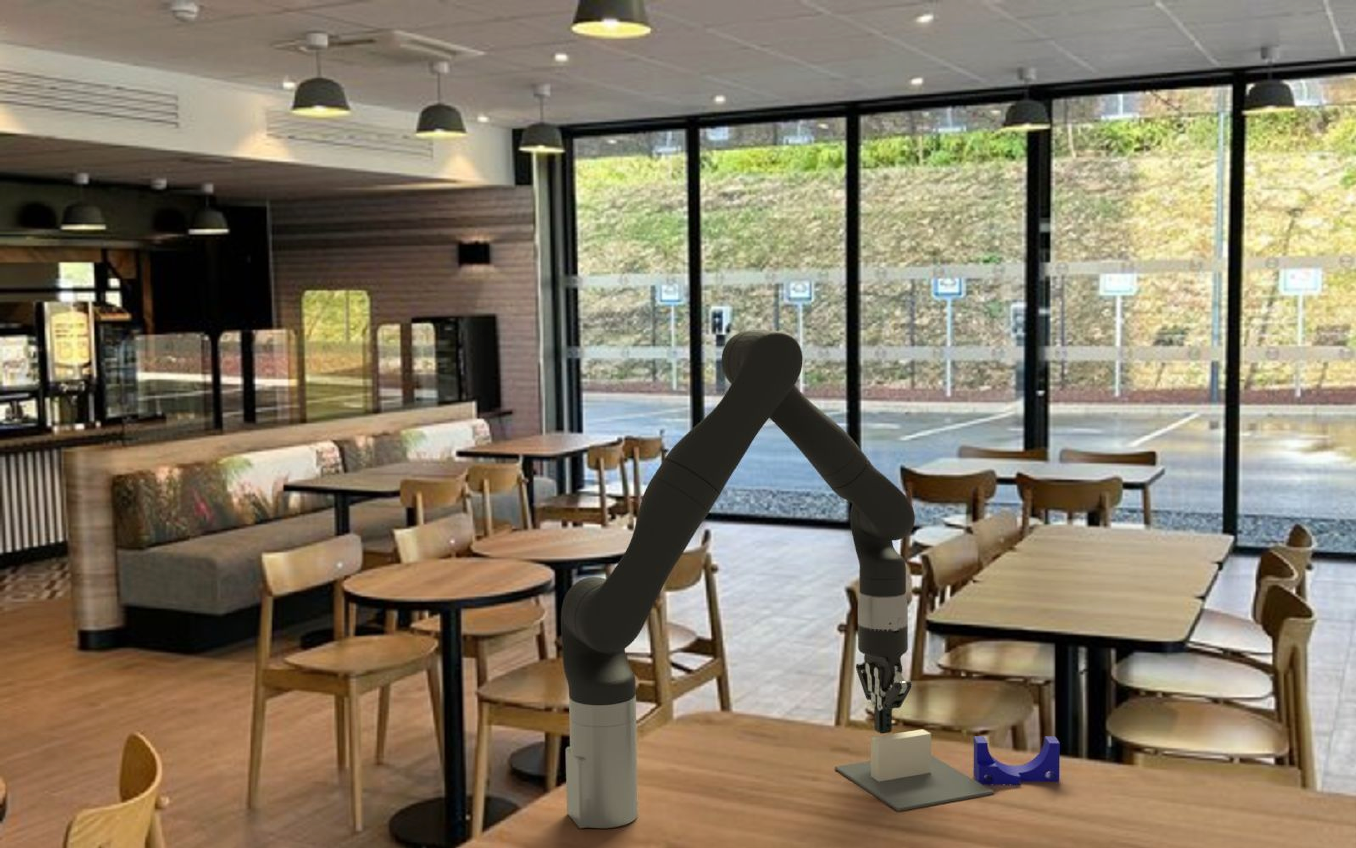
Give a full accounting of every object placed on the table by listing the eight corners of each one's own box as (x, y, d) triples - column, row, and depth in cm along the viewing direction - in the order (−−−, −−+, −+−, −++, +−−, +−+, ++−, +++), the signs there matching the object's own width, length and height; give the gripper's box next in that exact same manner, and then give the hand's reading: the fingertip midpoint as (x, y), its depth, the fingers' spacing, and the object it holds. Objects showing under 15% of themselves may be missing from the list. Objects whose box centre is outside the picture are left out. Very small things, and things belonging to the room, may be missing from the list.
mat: (897, 811, 184) (897, 808, 184) (835, 769, 201) (834, 766, 201) (993, 793, 190) (993, 791, 190) (925, 754, 207) (925, 752, 206)
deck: (878, 781, 194) (878, 742, 194) (870, 776, 196) (870, 737, 196) (930, 772, 198) (931, 733, 197) (922, 767, 200) (922, 729, 199)
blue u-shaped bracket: (978, 786, 194) (979, 746, 193) (973, 775, 198) (973, 736, 197) (1061, 786, 193) (1062, 746, 192) (1054, 775, 197) (1054, 736, 197)
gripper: (839, 614, 206) (840, 722, 207) (884, 634, 193) (884, 749, 195) (881, 609, 208) (881, 716, 210) (927, 628, 196) (927, 741, 198)
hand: (883, 731), depth 203 cm, fingers closed
